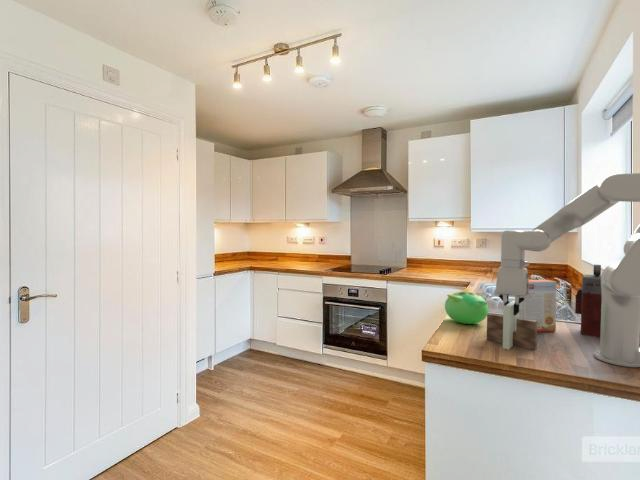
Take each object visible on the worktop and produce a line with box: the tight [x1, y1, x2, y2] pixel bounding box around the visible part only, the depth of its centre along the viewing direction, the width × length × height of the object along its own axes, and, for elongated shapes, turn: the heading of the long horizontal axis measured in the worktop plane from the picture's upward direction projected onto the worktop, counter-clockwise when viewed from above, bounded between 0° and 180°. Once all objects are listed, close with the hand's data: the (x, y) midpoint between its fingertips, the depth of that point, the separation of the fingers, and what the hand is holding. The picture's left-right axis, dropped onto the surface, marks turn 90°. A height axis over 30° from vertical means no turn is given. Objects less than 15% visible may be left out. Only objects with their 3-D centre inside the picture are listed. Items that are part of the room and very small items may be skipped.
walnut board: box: [486, 312, 538, 351], centre depth 127 cm, size 16×2×10 cm, turn 48°
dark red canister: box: [574, 264, 602, 338], centre depth 139 cm, size 9×11×28 cm
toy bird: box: [444, 289, 489, 325], centre depth 154 cm, size 18×17×15 cm
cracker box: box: [519, 279, 557, 333], centre depth 144 cm, size 14×6×21 cm, turn 92°
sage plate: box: [502, 299, 519, 350], centre depth 127 cm, size 2×14×15 cm, turn 138°
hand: (511, 313), depth 127 cm, fingers closed on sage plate, 2 cm apart
